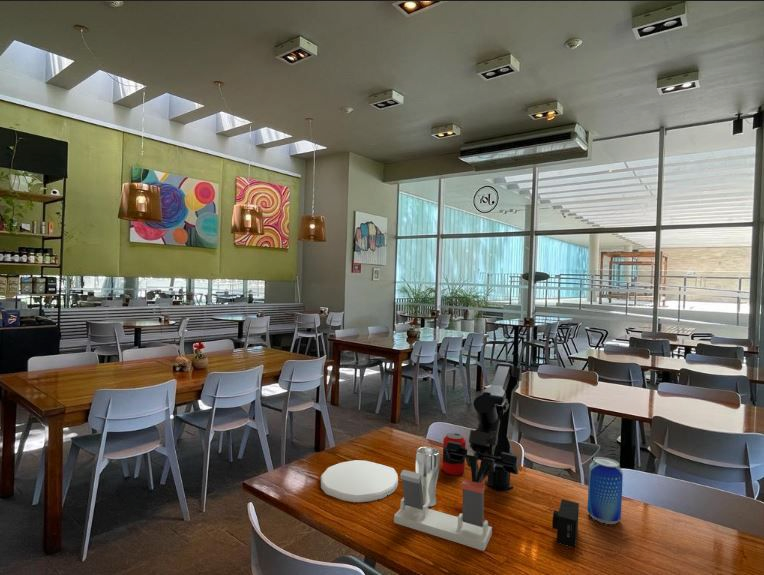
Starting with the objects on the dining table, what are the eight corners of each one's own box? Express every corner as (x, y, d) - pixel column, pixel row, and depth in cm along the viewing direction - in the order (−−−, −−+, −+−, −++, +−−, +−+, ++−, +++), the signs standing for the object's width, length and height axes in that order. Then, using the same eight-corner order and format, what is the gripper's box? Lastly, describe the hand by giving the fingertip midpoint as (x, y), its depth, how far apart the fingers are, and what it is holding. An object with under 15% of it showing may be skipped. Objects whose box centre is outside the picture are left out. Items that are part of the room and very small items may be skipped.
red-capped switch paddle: (463, 519, 111) (464, 479, 110) (484, 524, 109) (484, 484, 108) (461, 523, 109) (462, 483, 108) (482, 529, 107) (482, 488, 106)
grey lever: (407, 501, 118) (403, 469, 115) (424, 506, 116) (421, 474, 113) (404, 507, 117) (400, 474, 113) (422, 512, 114) (418, 479, 111)
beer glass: (436, 509, 122) (439, 456, 122) (412, 506, 124) (414, 453, 124) (438, 498, 129) (440, 448, 129) (415, 494, 130) (417, 445, 130)
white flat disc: (348, 449, 154) (411, 466, 142) (348, 461, 154) (410, 478, 142) (303, 475, 132) (373, 496, 120) (302, 488, 132) (372, 511, 120)
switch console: (406, 509, 122) (406, 492, 122) (491, 534, 111) (492, 516, 111) (393, 522, 114) (394, 504, 114) (484, 551, 104) (485, 531, 104)
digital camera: (556, 522, 118) (557, 497, 118) (577, 528, 116) (578, 502, 116) (551, 541, 109) (552, 514, 109) (574, 548, 106) (576, 520, 106)
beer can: (617, 514, 124) (620, 458, 124) (623, 529, 116) (626, 469, 116) (585, 508, 127) (587, 453, 127) (589, 522, 119) (591, 464, 119)
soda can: (467, 469, 150) (469, 435, 150) (459, 477, 144) (460, 441, 144) (447, 464, 154) (449, 430, 154) (438, 471, 148) (440, 436, 148)
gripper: (448, 411, 118) (432, 464, 108) (519, 423, 110) (508, 483, 100) (456, 432, 125) (441, 484, 115) (522, 445, 117) (513, 503, 107)
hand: (474, 488), depth 109 cm, fingers closed, pressing on red-capped switch paddle
